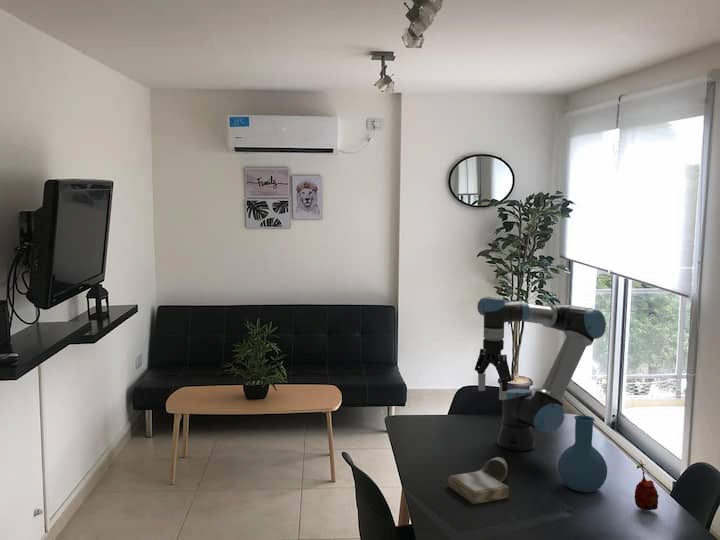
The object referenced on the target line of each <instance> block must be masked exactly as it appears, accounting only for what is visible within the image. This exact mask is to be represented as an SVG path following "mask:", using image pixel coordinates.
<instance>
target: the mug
mask: <svg viewBox="0 0 720 540" xmlns="http://www.w3.org/2000/svg"><path fill="white" fill-rule="evenodd" d="M478 471H484V472H485V473H487V474H488V475H490V476H492V477H493V478H495V479H497V480H498V481H500V482H501V483H503V481H505V479H506V477H507V474H508V463H507V461H506V459H504V458H503V457H500V456H496V457H493V458H490V459H489V460H487V462H485V464H484V465H483V467H482V468H481V469H479V470H478Z"/></svg>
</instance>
